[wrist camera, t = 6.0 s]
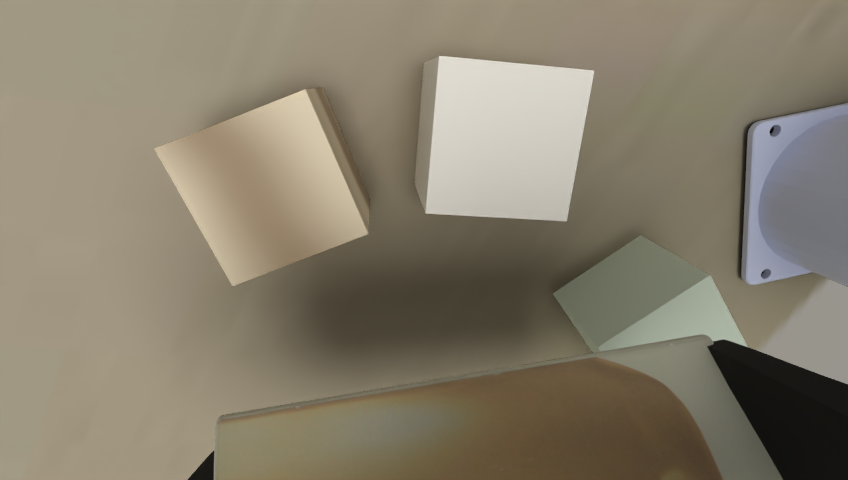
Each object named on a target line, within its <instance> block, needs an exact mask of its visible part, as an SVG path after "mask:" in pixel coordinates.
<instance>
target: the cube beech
mask: <svg viewBox="0 0 848 480" xmlns="http://www.w3.org/2000/svg"><path fill="white" fill-rule="evenodd" d="M155 151H156V153H157V154H158V156H159V158H160V160H161V161H162V163H163V165H164V167H165V168H166V170H167V172H168V174H169V175H170V177H171V179H172V181H173V183H174V184H175V186H176V188H177V190H178V191H179V193H180V195H181V197H182V198H183V200H184V202H185V204H186V205H187V207H188V209H189V211H190V212H191V214H192V216H193V218H194V219H195V221H196V223H197V225H198V226H199V228H200V230H201V232H202V233H203V235H204V237H205V239H206V240H207V242H208V244H209V246H210V247H211V249H212V251H213V253H214V255H215V256H216V258H217V260H218V262H219V263H220V265H221V267H222V269H223V270H224V272H225V274H226V276H227V277H228V279H229V281H230V283H231V284H232V286H235V285H237V284H240V283H243V282H245V281H248V280H250V279H253V278H256V277H258V276H261V275H263V274H266V273H269V272H271V271H274V270H276V269H279V268H282V267H284V266H287V265H289V264H292V263H295V262H297V261H300V260H302V259H305V258H308V257H310V256H313V255H315V254H318V253H321V252H323V251H326V250H328V249H331V248H334V247H336V246H339V245H341V244H344V243H347V242H349V241H352V240H354V239H357V238H360V237H362V236H365V235H367V234H368V233H369V213H370V198H369V196H368V193H367V191H366V189H365V186H364V184H363V182H362V179H361V177H360V175H359V172H358V170H357V167H356V165H355V163H354V160H353V158H352V156H351V153H350V151H349V149H348V146H347V144H346V141H345V139H344V137H343V134H342V132H341V130H340V127H339V125H338V123H337V120H336V118H335V115H334V113H333V111H332V108H331V106H330V104H329V101H328V99H327V97H326V94H325V92H324V89H323V87H322V88H312V89H305V90H302V91H299V92H297V93H294V94H292V95H289V96H287V97H284V98H282V99H279V100H277V101H274V102H272V103H269V104H267V105H264V106H261V107H259V108H256V109H254V110H251V111H249V112H246V113H244V114H241V115H239V116H236V117H234V118H231V119H229V120H226V121H223V122H221V123H218V124H216V125H213V126H211V127H208V128H206V129H203V130H201V131H198V132H196V133H193V134H191V135H188V136H185V137H183V138H180V139H178V140H175V141H173V142H170V143H168V144H165V145H163V146H160V147H158V148H155Z"/></svg>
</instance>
